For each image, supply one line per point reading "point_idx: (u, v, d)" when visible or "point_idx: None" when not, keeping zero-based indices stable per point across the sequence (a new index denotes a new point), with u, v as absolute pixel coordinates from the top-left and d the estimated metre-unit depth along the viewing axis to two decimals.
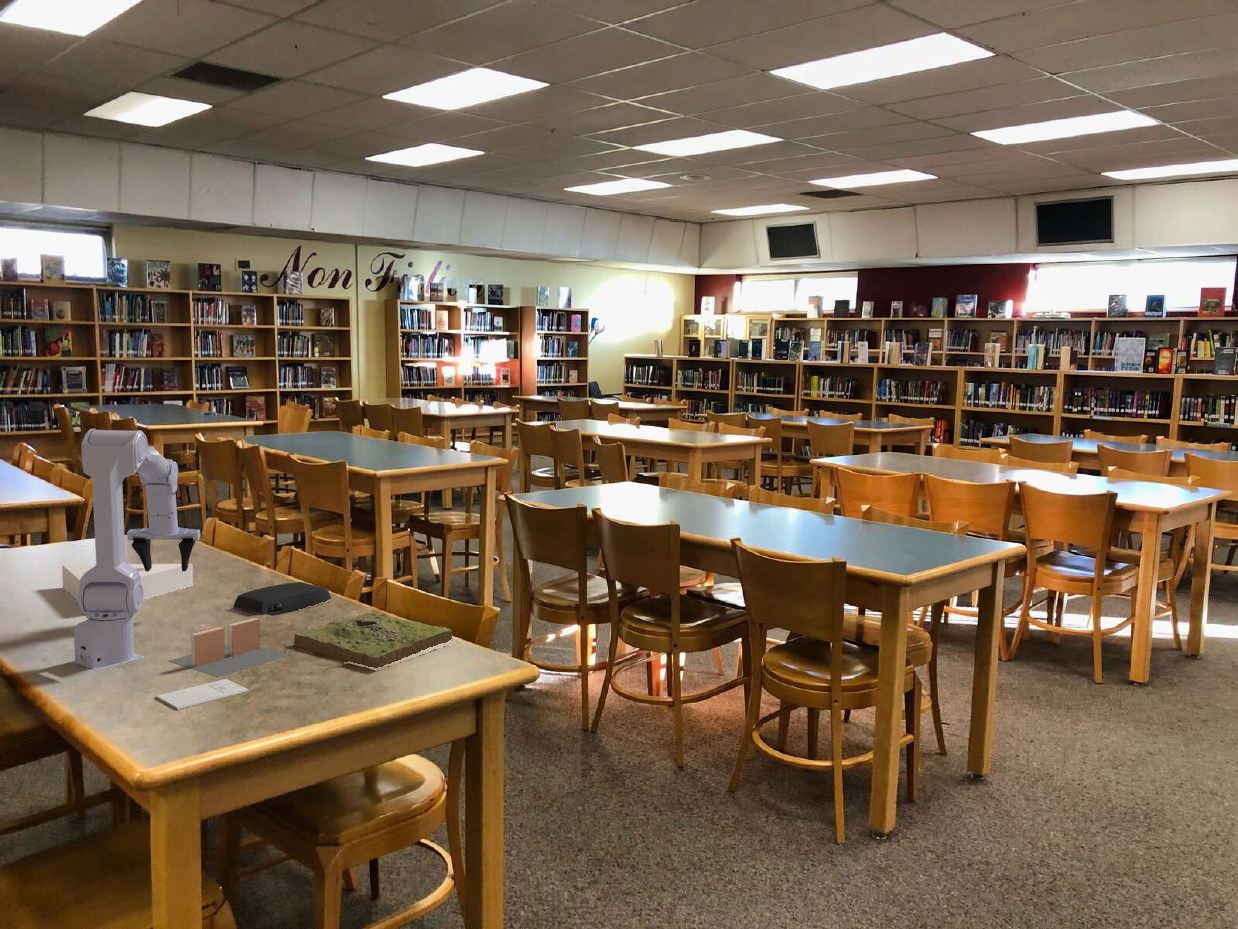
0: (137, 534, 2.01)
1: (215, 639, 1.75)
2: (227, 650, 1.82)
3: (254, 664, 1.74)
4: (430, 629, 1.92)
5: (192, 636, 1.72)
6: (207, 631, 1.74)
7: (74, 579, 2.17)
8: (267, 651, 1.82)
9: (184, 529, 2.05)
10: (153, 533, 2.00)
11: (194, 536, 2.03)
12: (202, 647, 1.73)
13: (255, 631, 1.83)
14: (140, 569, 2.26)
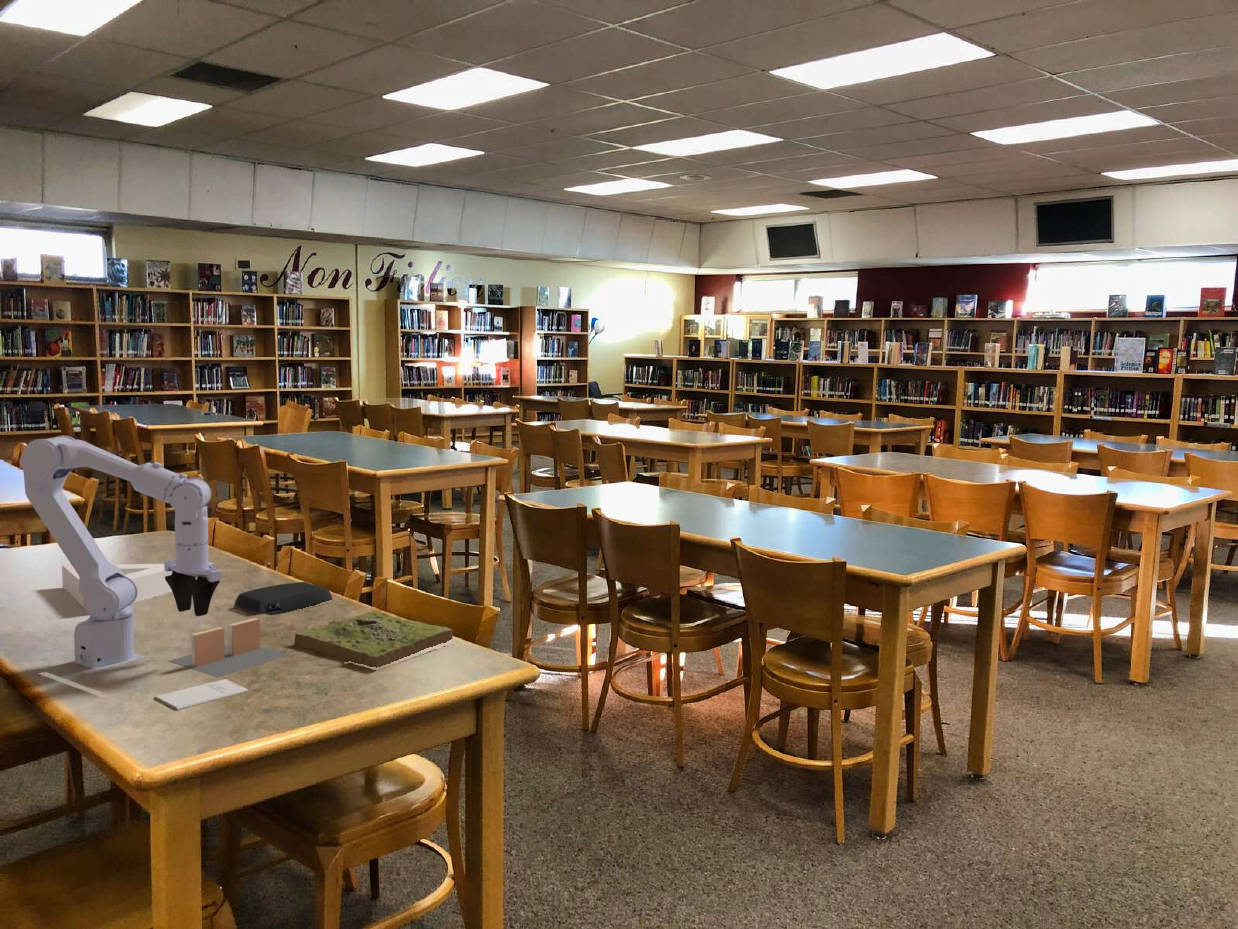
0: (169, 565, 1.76)
1: (215, 639, 1.75)
2: (227, 650, 1.82)
3: (254, 664, 1.74)
4: (430, 628, 1.92)
5: (192, 636, 1.72)
6: (207, 631, 1.74)
7: (74, 579, 2.17)
8: (267, 651, 1.82)
9: (212, 568, 1.75)
10: (175, 565, 1.74)
11: (209, 576, 1.71)
12: (202, 647, 1.73)
13: (255, 631, 1.83)
14: (140, 569, 2.26)
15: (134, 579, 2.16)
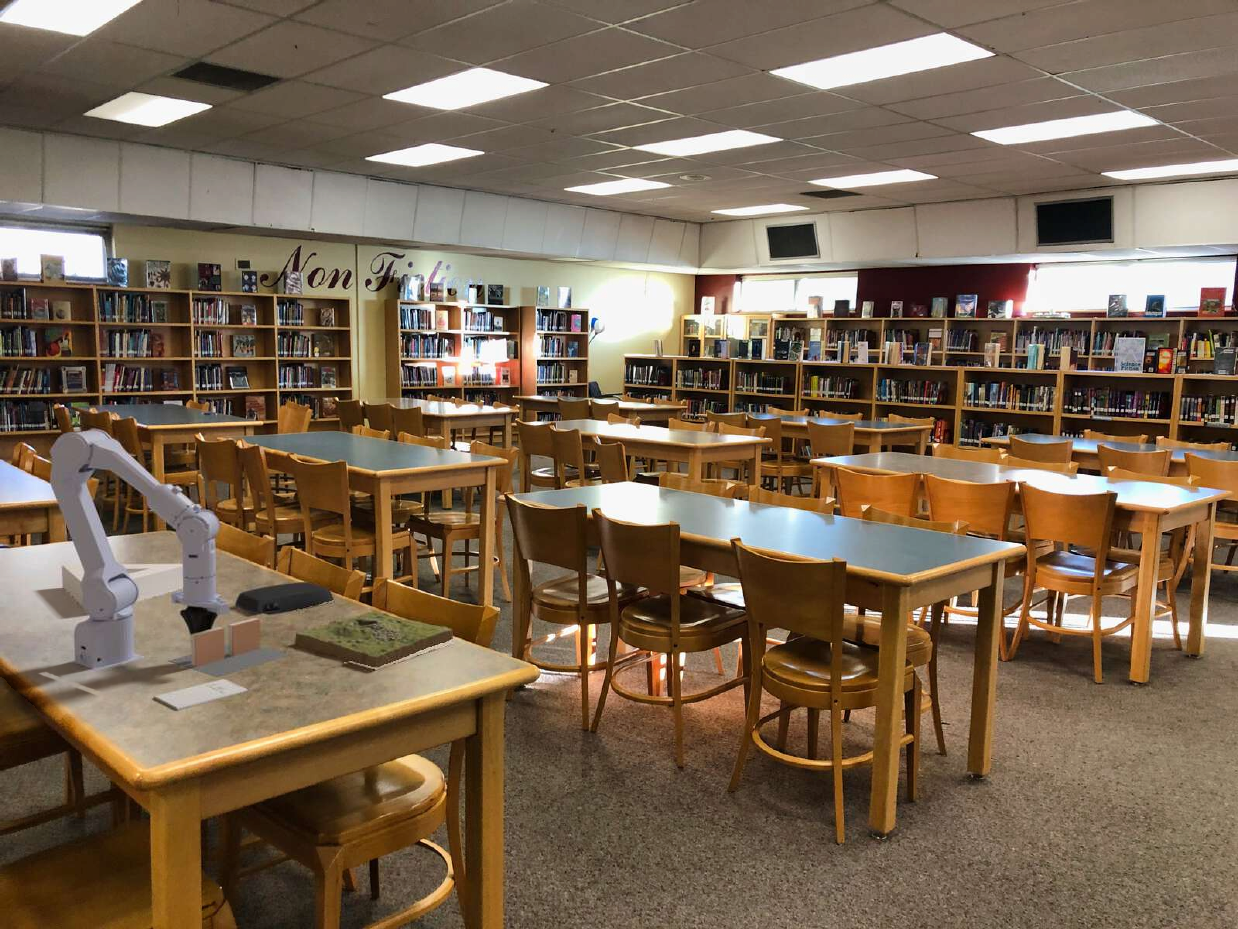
0: (176, 597, 1.76)
1: (215, 639, 1.75)
2: (227, 650, 1.82)
3: (254, 664, 1.74)
4: (431, 629, 1.92)
5: (192, 636, 1.72)
6: (207, 631, 1.74)
7: (74, 579, 2.17)
8: (267, 651, 1.82)
9: (220, 600, 1.74)
10: (183, 598, 1.73)
11: (217, 609, 1.71)
12: (202, 647, 1.73)
13: (255, 631, 1.83)
14: (140, 569, 2.26)
15: (134, 579, 2.16)
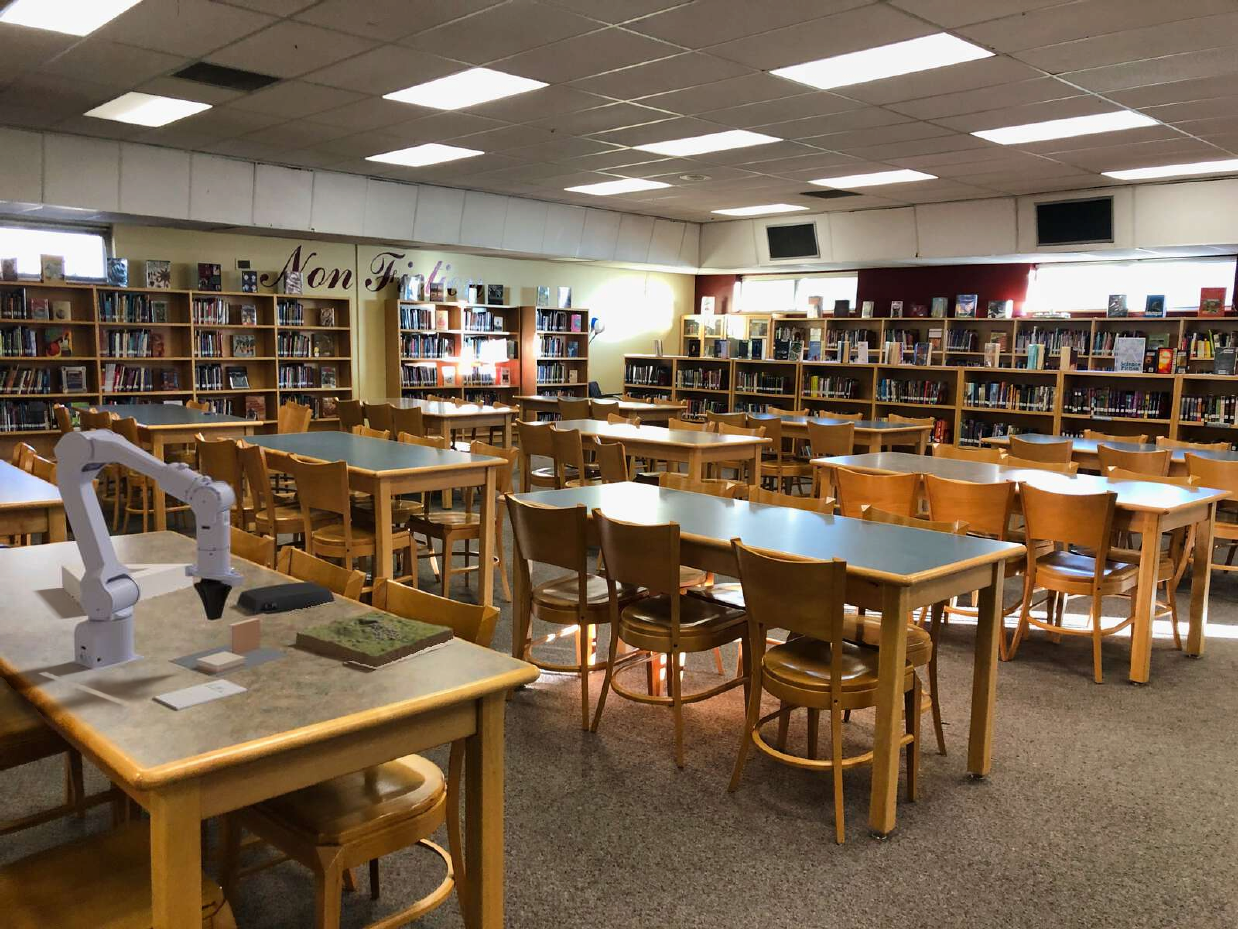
0: (190, 570, 1.73)
1: None
2: (227, 650, 1.82)
3: (254, 664, 1.74)
4: (431, 628, 1.93)
5: (216, 667, 1.69)
6: (231, 665, 1.71)
7: (73, 579, 2.17)
8: (267, 651, 1.82)
9: (234, 573, 1.71)
10: (197, 570, 1.70)
11: (231, 581, 1.68)
12: None
13: (255, 631, 1.83)
14: (140, 569, 2.26)
15: None
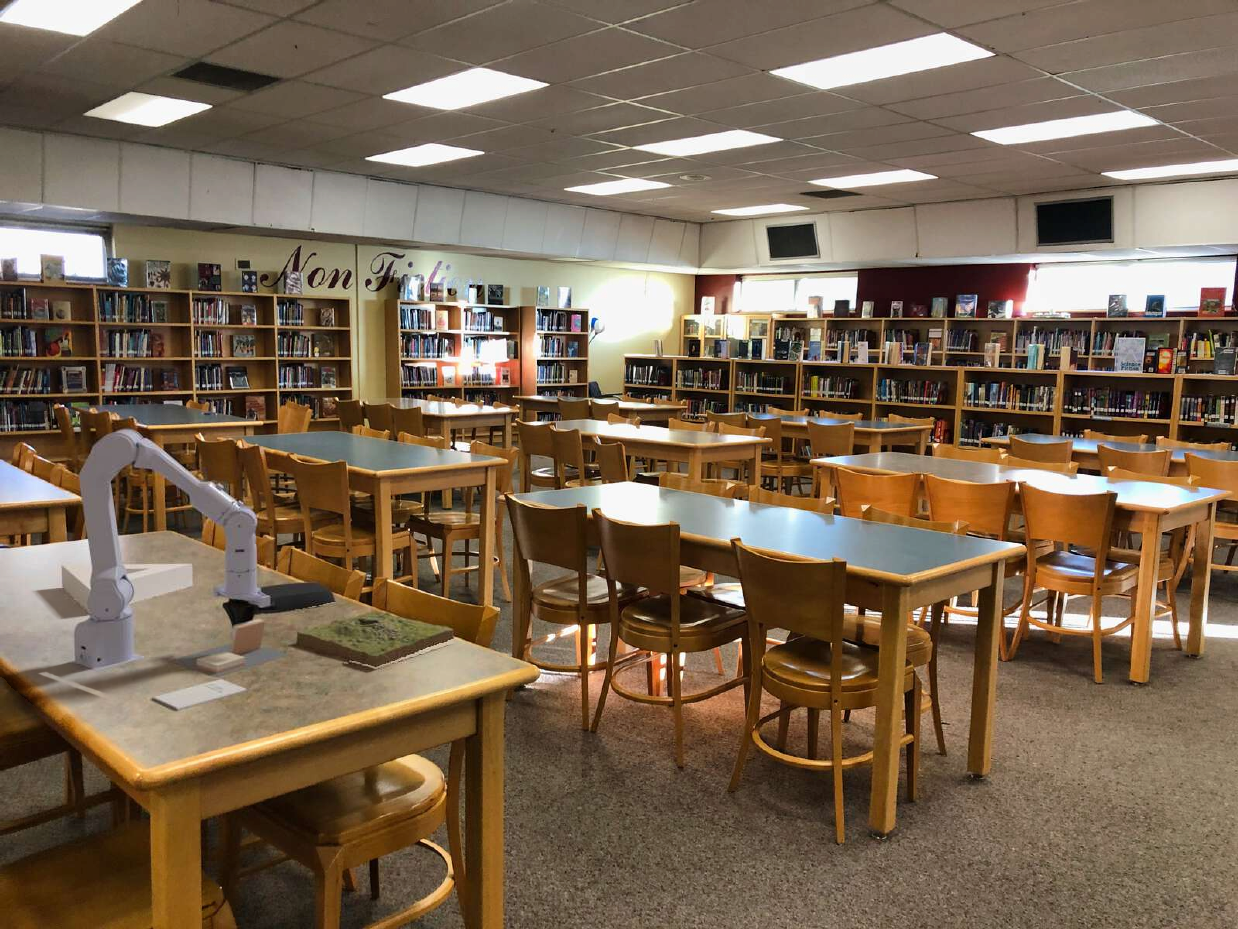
0: (218, 590, 1.82)
1: None
2: (227, 650, 1.82)
3: (254, 664, 1.74)
4: (432, 628, 1.93)
5: (216, 667, 1.69)
6: (231, 665, 1.71)
7: (73, 579, 2.17)
8: (267, 651, 1.82)
9: (261, 593, 1.80)
10: (225, 591, 1.79)
11: (259, 602, 1.77)
12: None
13: (258, 633, 1.82)
14: (139, 569, 2.26)
15: (134, 579, 2.16)
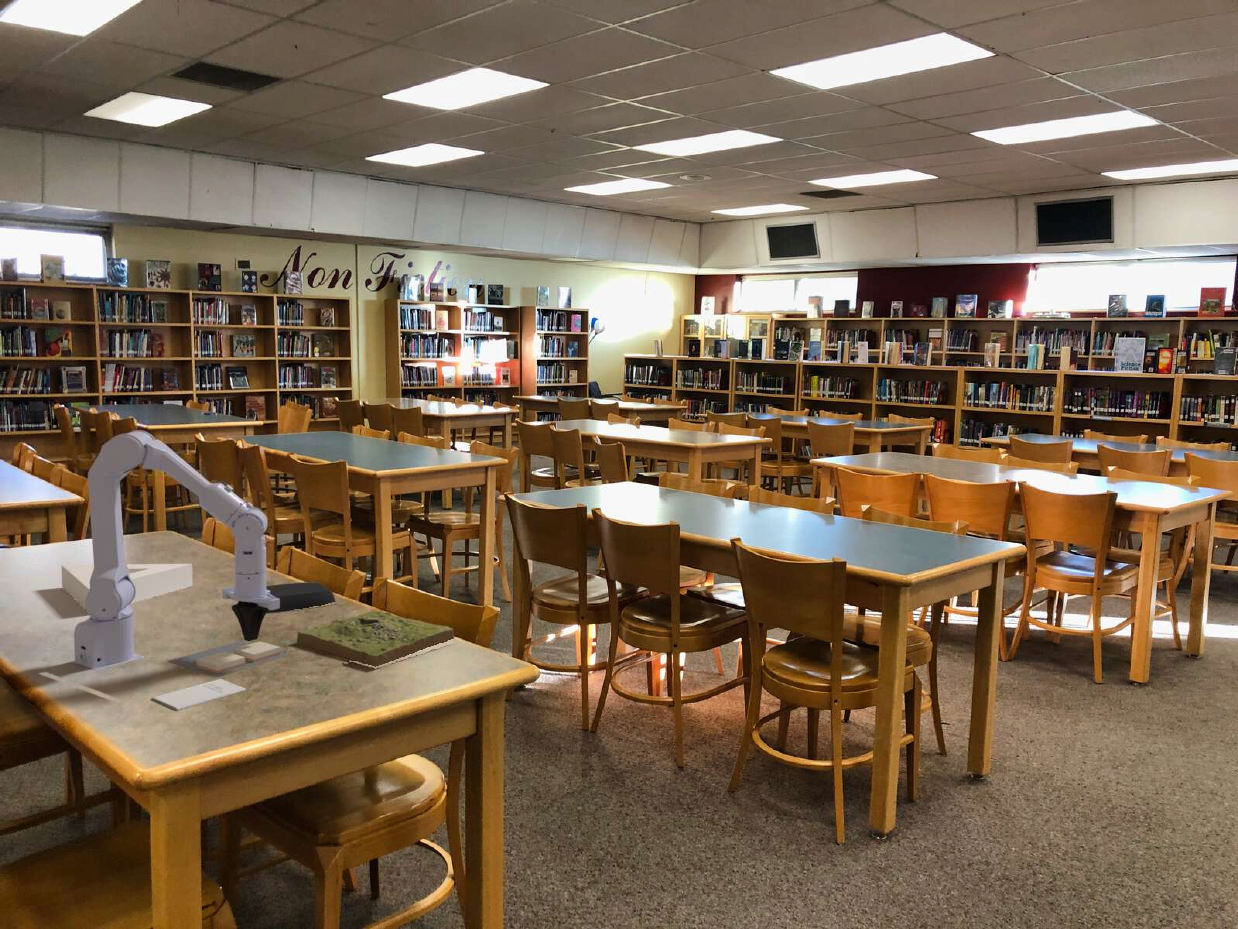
0: (227, 592, 1.81)
1: None
2: (227, 650, 1.82)
3: (254, 664, 1.74)
4: (432, 628, 1.93)
5: (216, 667, 1.69)
6: (231, 665, 1.71)
7: (73, 579, 2.17)
8: None
9: (270, 596, 1.79)
10: (235, 593, 1.78)
11: (268, 604, 1.75)
12: None
13: None
14: (139, 569, 2.26)
15: (133, 579, 2.16)
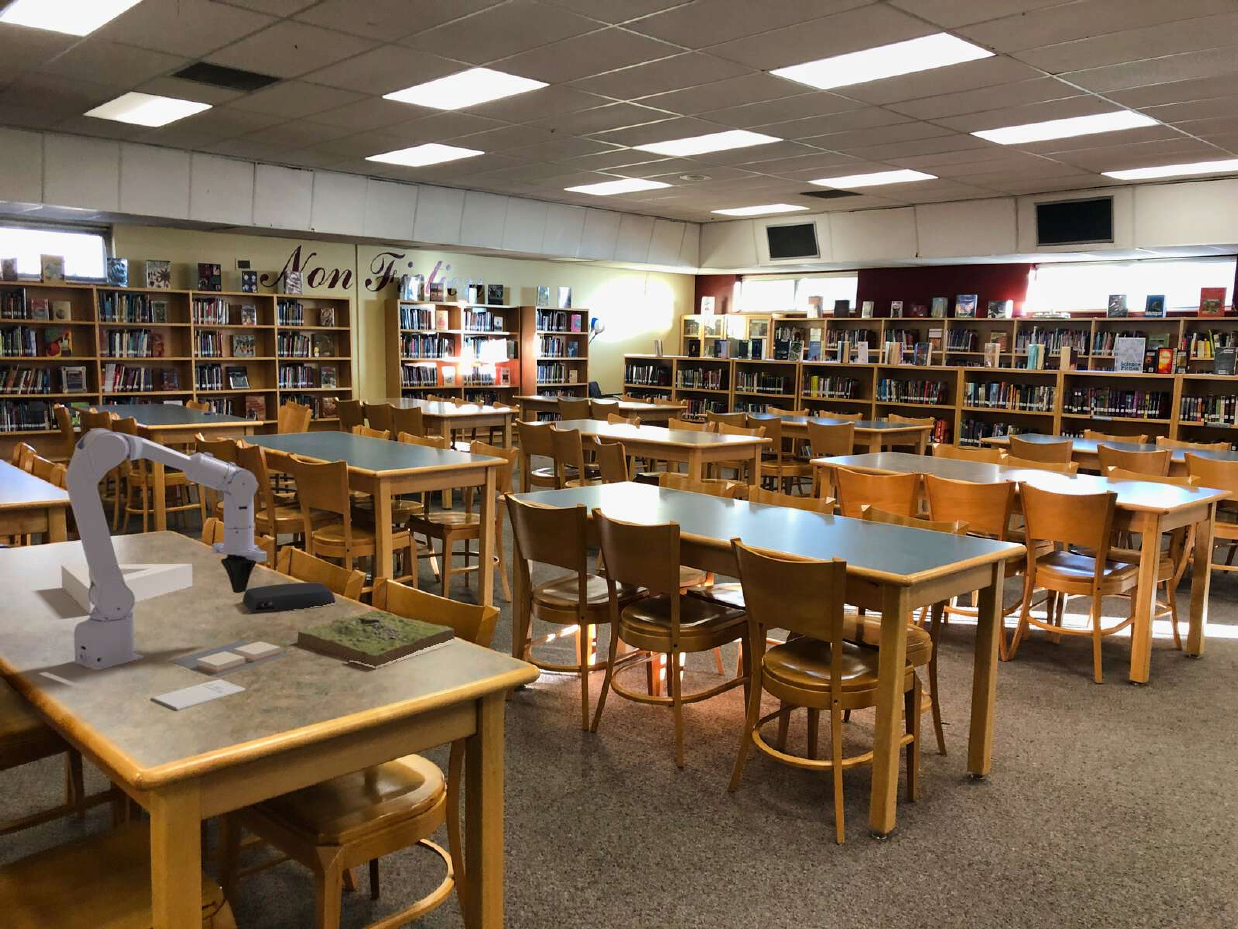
0: (217, 547, 1.89)
1: None
2: (227, 650, 1.82)
3: (254, 664, 1.74)
4: (432, 628, 1.93)
5: (216, 667, 1.69)
6: (231, 665, 1.71)
7: (73, 579, 2.17)
8: None
9: (258, 550, 1.87)
10: (224, 547, 1.86)
11: (256, 557, 1.84)
12: None
13: None
14: (139, 569, 2.26)
15: (133, 579, 2.16)
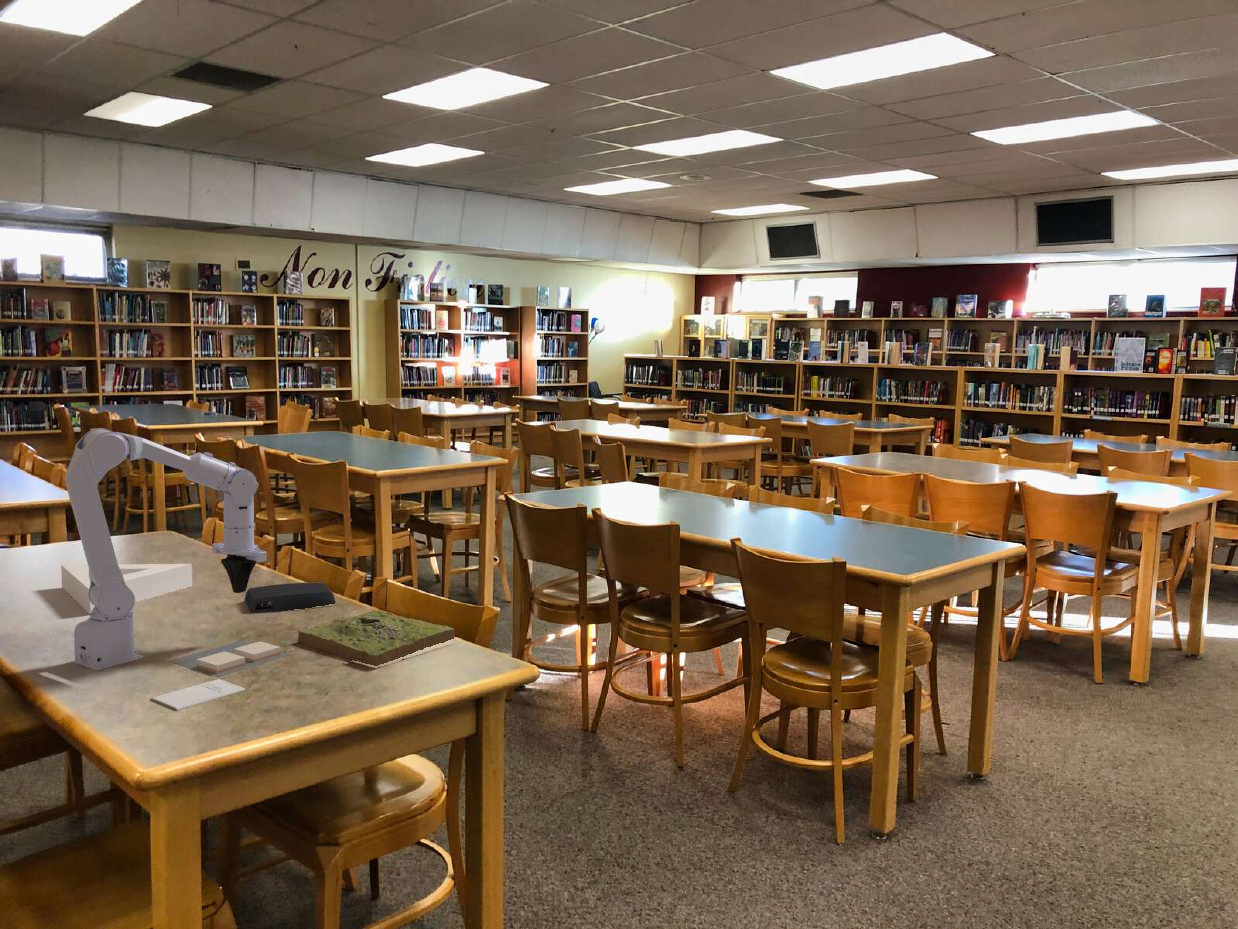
0: (217, 547, 1.89)
1: None
2: (227, 650, 1.82)
3: (254, 664, 1.74)
4: (432, 628, 1.93)
5: (216, 667, 1.69)
6: (231, 665, 1.71)
7: (73, 579, 2.17)
8: None
9: (258, 550, 1.87)
10: (224, 547, 1.86)
11: (256, 557, 1.84)
12: None
13: None
14: (139, 569, 2.26)
15: (133, 579, 2.15)
